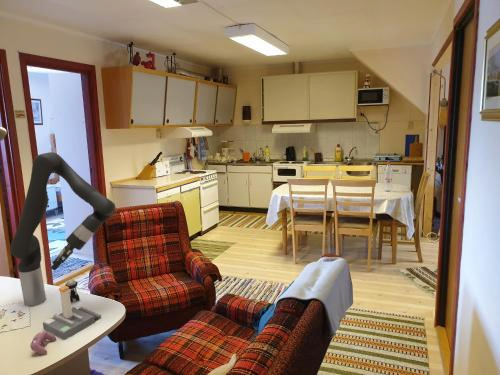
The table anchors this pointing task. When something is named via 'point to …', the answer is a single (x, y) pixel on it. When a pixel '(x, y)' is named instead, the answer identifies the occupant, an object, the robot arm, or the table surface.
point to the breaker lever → (66, 302)
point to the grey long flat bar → (91, 313)
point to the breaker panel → (68, 323)
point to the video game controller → (41, 339)
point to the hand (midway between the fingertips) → (53, 266)
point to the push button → (73, 290)
